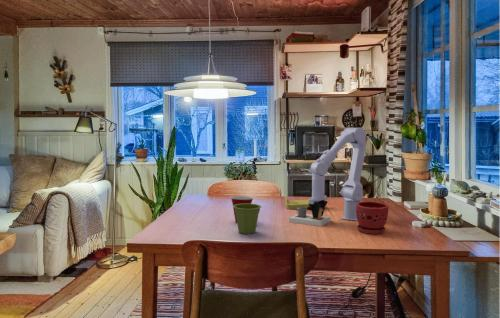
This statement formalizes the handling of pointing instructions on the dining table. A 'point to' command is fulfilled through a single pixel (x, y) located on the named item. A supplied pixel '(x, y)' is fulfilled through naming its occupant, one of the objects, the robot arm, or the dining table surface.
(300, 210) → the charcoal flared cup
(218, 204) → the dining table surface
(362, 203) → the plant pot
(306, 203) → the plastic component
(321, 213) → the tan rubber stopper
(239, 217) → the plant pot
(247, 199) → the plastic cup
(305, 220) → the housing
